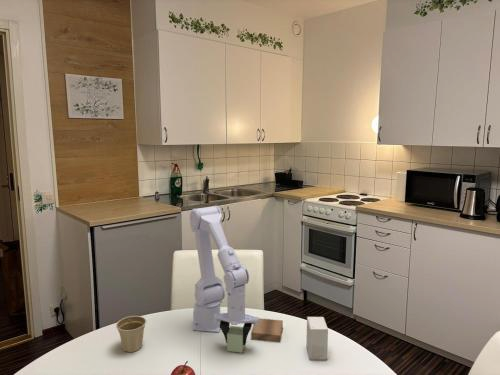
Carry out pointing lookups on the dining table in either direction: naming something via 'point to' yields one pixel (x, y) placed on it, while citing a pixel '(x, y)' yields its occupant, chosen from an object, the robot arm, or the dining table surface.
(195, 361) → the dining table surface
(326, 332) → the small box
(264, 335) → the walnut pad
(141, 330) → the flower pot
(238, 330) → the sage block
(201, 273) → the robot arm
